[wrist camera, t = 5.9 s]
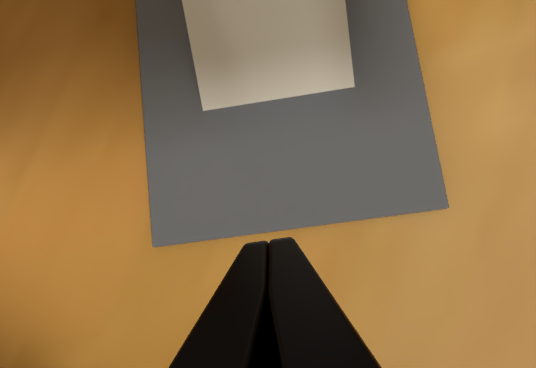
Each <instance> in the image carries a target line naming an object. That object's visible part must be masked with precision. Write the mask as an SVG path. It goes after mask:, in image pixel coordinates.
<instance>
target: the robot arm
mask: <svg viewBox="0 0 536 368" xmlns="http://www.w3.org/2000/svg"><path fill="white" fill-rule="evenodd" d="M169 368H381V366H380V365H379V363H378V362H377V360H376V359H375V357H374V356H373V354H372V353H371V352H370V350H369V349H368V347H367V346H366V344H365V343H364V341H363V340H362V338H361V337H360V335H359V334H358V332H357V331H356V330H355V328H354V327H353V325H352V324H351V322H350V321H349V319H348V318H347V316H346V315H345V313H344V312H343V310H342V309H341V308H340V306H339V305H338V303H337V302H336V300H335V299H334V297H333V296H332V294H331V293H330V291H329V290H328V288H327V287H326V286H325V284H324V283H323V281H322V280H321V278H320V277H319V275H318V274H317V272H316V271H315V269H314V268H313V266H312V265H311V264H310V262H309V261H308V259H307V258H306V256H305V255H304V253H303V252H302V250H301V249H300V247H299V246H298V244H297V243H296V242H295V240H294V239H293V238H291V237H287V238H280V239H273V240H271V241H270V243H268V242H267V241H259V242H252V243H247V244H245V245H244V246H243V248H242V249H241V251H240V252H239V254H238V256H237V257H236V259H235V260H234V262H233V264H232V265H231V267H230V269H229V270H228V272H227V273H226V275H225V277H224V278H223V280H222V282H221V283H220V285H219V286H218V288H217V290H216V291H215V293H214V295H213V296H212V298H211V299H210V301H209V303H208V304H207V306H206V308H205V309H204V311H203V312H202V314H201V316H200V317H199V319H198V321H197V322H196V324H195V325H194V327H193V329H192V330H191V332H190V334H189V335H188V337H187V338H186V340H185V342H184V343H183V345H182V347H181V348H180V350H179V351H178V353H177V355H176V356H175V358H174V360H173V361H172V363H171V364H170V366H169Z"/></svg>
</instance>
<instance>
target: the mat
mask: <svg viewBox="0 0 536 368" xmlns="http://www.w3.org/2000/svg"><path fill="white" fill-rule="evenodd" d="M135 2H136V16H137V30H138V45H139V59H140V73H141V87H142V102H143V116H144V130H145V144H146V159H147V173H148V187H149V201H150V215H151V230H152V244H153V247H161V246H168V245H176V244H183V243H191V242H198V241H206V240H214V239H221V238H229V237H236V236H244V235H251V234H259V233H267V232H274V231H282V230H289V229H297V228H304V227H312V226H320V225H327V224H335V223H342V222H350V221H357V220H365V219H372V218H380V217H388V216H395V215H403V214H410V213H418V212H425V211H433V210H441V209H447V208H449V205H448V200H447V195H446V190H445V185H444V180H443V175H442V171H441V166H440V161H439V156H438V151H437V146H436V141H435V136H434V132H433V127H432V122H431V117H430V112H429V107H428V102H427V97H426V93H425V88H424V83H423V78H422V73H421V68H420V63H419V58H418V54H417V49H416V44H415V39H414V34H413V29H412V24H411V19H410V14H409V10H408V5H407V0H345V2H346V11H347V21H348V30H349V39H350V48H351V57H352V66H353V75H354V84H355V87H351V88H345V89H339V90H332V91H326V92H320V93H313V94H307V95H301V96H295V97H288V98H282V99H276V100H269V101H263V102H257V103H251V104H244V105H238V106H232V107H225V108H219V109H213V110H207V111H203V108H202V103H201V98H200V93H199V87H198V82H197V77H196V72H195V66H194V61H193V56H192V51H191V45H190V40H189V35H188V30H187V24H186V19H185V14H184V9H183V3H182V0H135Z"/></svg>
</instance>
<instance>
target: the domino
mask: <svg viewBox="0 0 536 368" xmlns="http://www.w3.org/2000/svg"><path fill="white" fill-rule="evenodd" d="M182 3H183V9H184V14H185V19H186V24H187V30H188V35H189V40H190V45H191V51H192V56H193V61H194V66H195V72H196V77H197V82H198V87H199V93H200V98H201V103H202V108H203V111H207V110H213V109H219V108H225V107H232V106H238V105H244V104H251V103H257V102H263V101H269V100H276V99H282V98H288V97H295V96H301V95H307V94H313V93H320V92H326V91H332V90H339V89H345V88H351V87H355V84H354V75H353V66H352V57H351V48H350V39H349V30H348V21H347V11H346V2H345V0H182Z"/></svg>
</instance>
